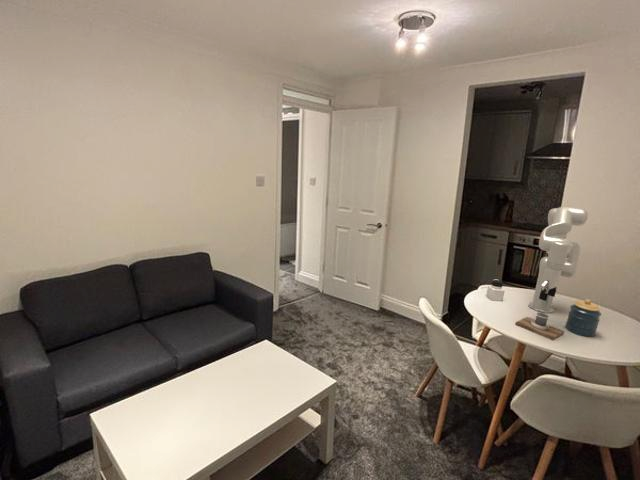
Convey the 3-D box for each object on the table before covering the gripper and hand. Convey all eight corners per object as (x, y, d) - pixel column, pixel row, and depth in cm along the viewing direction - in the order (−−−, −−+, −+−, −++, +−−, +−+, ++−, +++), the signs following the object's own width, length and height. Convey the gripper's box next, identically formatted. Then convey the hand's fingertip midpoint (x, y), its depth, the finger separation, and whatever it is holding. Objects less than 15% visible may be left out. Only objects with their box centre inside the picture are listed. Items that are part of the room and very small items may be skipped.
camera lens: (537, 320, 184) (539, 311, 183) (547, 324, 180) (550, 315, 179) (532, 322, 181) (535, 313, 180) (543, 327, 177) (545, 318, 176)
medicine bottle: (502, 301, 215) (506, 283, 212) (490, 300, 215) (494, 282, 213) (497, 296, 222) (500, 278, 219) (485, 295, 222) (489, 278, 219)
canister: (597, 340, 175) (607, 307, 170) (566, 332, 181) (574, 300, 176) (592, 329, 186) (601, 298, 182) (563, 322, 192) (571, 292, 188)
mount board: (526, 319, 192) (527, 314, 191) (563, 333, 178) (565, 328, 177) (515, 324, 184) (516, 319, 184) (553, 340, 171) (554, 334, 170)
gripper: (553, 261, 181) (546, 291, 186) (538, 266, 171) (531, 298, 176) (570, 265, 175) (562, 297, 180) (555, 270, 165) (547, 304, 170)
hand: (546, 297), depth 178 cm, fingers open, 9 cm apart
